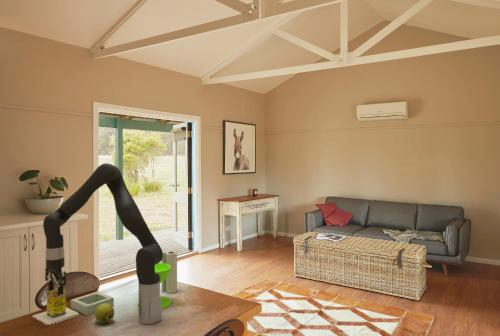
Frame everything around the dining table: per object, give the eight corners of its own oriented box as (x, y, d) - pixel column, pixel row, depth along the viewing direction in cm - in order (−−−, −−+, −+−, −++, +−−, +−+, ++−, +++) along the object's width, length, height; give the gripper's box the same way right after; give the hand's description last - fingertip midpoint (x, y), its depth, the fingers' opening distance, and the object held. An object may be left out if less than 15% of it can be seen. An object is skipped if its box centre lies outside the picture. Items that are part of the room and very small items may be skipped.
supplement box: (53, 318, 167) (52, 293, 166) (46, 315, 170) (46, 291, 170) (66, 313, 172) (66, 290, 171) (59, 310, 175) (59, 287, 175)
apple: (107, 316, 171) (107, 299, 171) (118, 322, 166) (118, 304, 165) (90, 322, 165) (90, 304, 165) (101, 328, 160) (101, 309, 159)
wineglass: (175, 298, 194) (174, 263, 193) (164, 310, 178) (164, 273, 177) (144, 297, 195) (144, 262, 195) (132, 309, 180) (132, 271, 179)
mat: (79, 315, 173) (79, 313, 172) (47, 326, 161) (47, 323, 161) (63, 308, 181) (63, 305, 181) (32, 317, 170) (32, 315, 170)
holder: (113, 305, 184) (113, 297, 184) (86, 315, 172) (86, 306, 172) (97, 299, 192) (97, 291, 192) (70, 308, 181) (70, 299, 181)
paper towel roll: (179, 290, 206) (178, 251, 205) (173, 294, 200) (173, 254, 199) (167, 289, 207) (166, 250, 207) (161, 292, 202) (161, 253, 201)
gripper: (71, 257, 169) (72, 293, 169) (55, 253, 177) (56, 287, 178) (54, 261, 163) (55, 298, 163) (38, 256, 171) (39, 291, 172)
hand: (55, 292), depth 171 cm, fingers open, 8 cm apart
